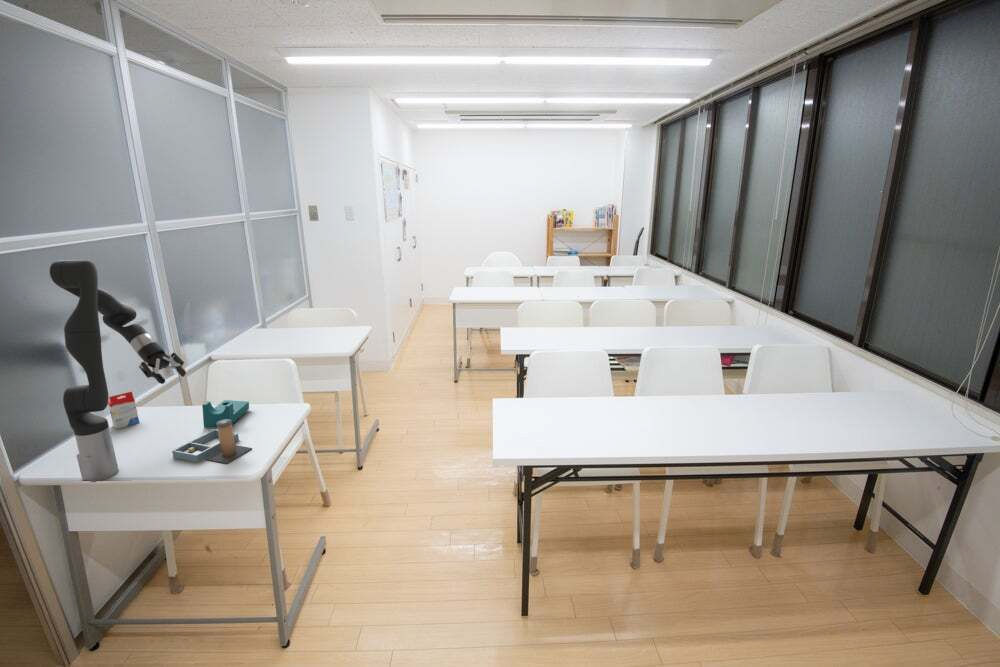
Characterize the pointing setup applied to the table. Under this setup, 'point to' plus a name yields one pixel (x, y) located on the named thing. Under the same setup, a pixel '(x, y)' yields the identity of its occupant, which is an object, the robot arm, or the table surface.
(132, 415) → the ink box
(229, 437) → the brown canister
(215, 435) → the parts tub
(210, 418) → the teal notched block
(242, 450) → the black mat
